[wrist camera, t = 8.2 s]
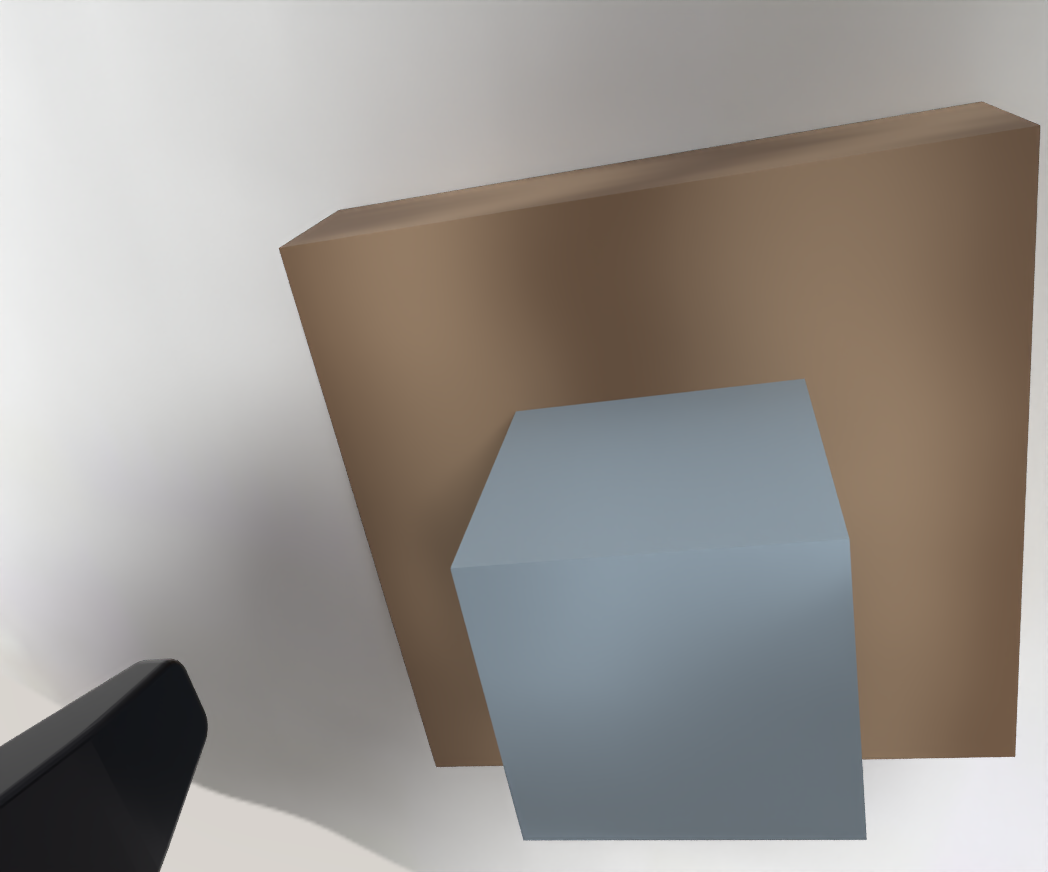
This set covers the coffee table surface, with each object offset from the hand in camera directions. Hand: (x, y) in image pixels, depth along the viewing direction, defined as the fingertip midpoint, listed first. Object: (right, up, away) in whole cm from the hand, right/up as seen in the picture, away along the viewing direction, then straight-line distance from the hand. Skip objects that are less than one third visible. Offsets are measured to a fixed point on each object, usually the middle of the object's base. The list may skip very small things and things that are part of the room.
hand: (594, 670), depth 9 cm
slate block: (+2, +1, +8) cm, 8 cm away
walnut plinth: (+2, +2, +11) cm, 11 cm away
